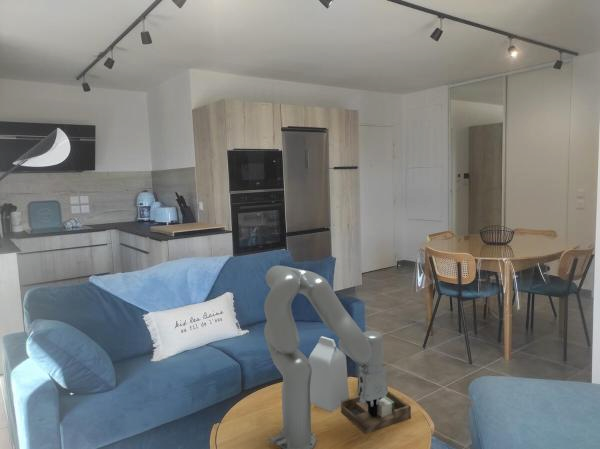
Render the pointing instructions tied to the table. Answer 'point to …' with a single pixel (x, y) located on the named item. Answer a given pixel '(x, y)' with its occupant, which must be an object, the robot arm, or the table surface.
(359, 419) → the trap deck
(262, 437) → the table surface
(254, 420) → the table surface
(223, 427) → the table surface
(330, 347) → the milk
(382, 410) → the block
